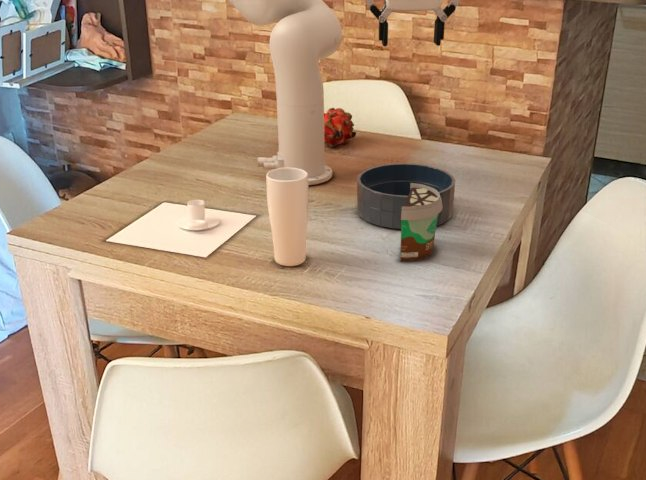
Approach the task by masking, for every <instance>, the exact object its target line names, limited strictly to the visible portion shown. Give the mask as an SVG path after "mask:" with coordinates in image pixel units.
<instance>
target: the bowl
mask: <svg viewBox="0 0 646 480" xmlns="http://www.w3.org/2000/svg"><path fill="white" fill-rule="evenodd" d="M411 183H416V184H422V185H426V186H429V187H432V188H434V189H435V190H437V191H438V192H439V194H440V197H441V199H442V206H443V209H442V211H441V212H440V213H438V217H437V224H436V226H439V225H442V224H444V223H445V222H447V221H449V220H450V218H451V217H452V216H453V213H454V205H455V204H454V203H455V191H456V179H455V177H454V176H453V174H452V173H449V171H446V170H444V169H442V168H439V167H435V166H432V165H427V164H426V165H425V164H420V163H419V164H418V163H407V162H405V163H388V164H380V165H377V166H373V167H372V166H371V167H369V168H367V169H365V170H363V171H362V172H360V173H359V174H358V175H357V178H356V212H357V214H358V216H359V217H360V218H361V219H362V220H364V221H366V222H368V223H370V224H373V225H376V226H379V227H384V228H388V229H394V230H395V229H396V230H401V211H402V207H404V206H405V203H406V200H407V197H408V195H409V193H410V184H411Z"/></svg>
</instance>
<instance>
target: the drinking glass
mask: <svg viewBox="0 0 646 480" xmlns="http://www.w3.org/2000/svg"><path fill="white" fill-rule="evenodd" d="M265 185H266V186H265V190H266V192H265V193H266V194H265V195H266V203H267V210H268V211H267V212H268V217H269V224H270V231H271V240H272V245H273V247H272V248H273V258H274V262H275V263H277V264H278V265H280V266H283V267H296V266H299V265H302V264H303V263H304V262H305V261H306V259H307V234H308V233H307V232H308V219H309V218H308V217H309V202H310V201H309V199H310V192H309V191H310V190H309V189H310V188H309V187H310V185H308V174H307V172H306V171H304V170H302V169H298V168H278V169H274V170H273V169H270V170H269V171H268V172H266V174H265Z"/></svg>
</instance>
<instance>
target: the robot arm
mask: <svg viewBox="0 0 646 480" xmlns="http://www.w3.org/2000/svg"><path fill="white" fill-rule="evenodd" d="M460 1H461V0H450V1H449V3H448V4H447V5H446V6H445V7H444V9H442V4H443V0H383V5H384V6H383V7H382V8H381V9H379V8H378V7H377V6H376V3H375V0H365V3H366V5H367V7H368V9H369V11H370V13H371V14H372V15H373V16H374V17H375V18H376V19H377V21H378V41H379V42H380V41H381V45H382V47H388V45H389V22H388V18H389V17H390V15H391V14H392V13H393V11H394V12H425V11H426V12H431V11H433V13H434V14H435V15H436V18H435V19H434V27H433V29H434V30H433V43H434V44H435V46H437V47H438V46H441V41H443V40H444V39H445V27H446V25H445V24H446V22H447V21H448V18H449V17H451V16H452V14H453V13H454V12H455V11H456V9H457V7H458V5H459V3H460ZM228 2H229V3H230V4H231V5H232V6H233V7H234V8H235V9H236V10H237V11H238V13H240V14H241V15H242V16H243V17H244V19H245V20H247V21H248V22H249V23H251V24H252V25H254V26H258V27H261V26H263V27H264V26H268V25H272V24H275V23H276V24H275V25H274V26H273V28H272V30H271V32H270V37H269V54H270V57H271V63H272V67H273V72H274V73H273V74H274V81H275V98H276V116H277V117H276V119H277V138H278V139H277V142H278V151H277V152H276V155H272V157H265V156H264V157H263V156H261V157H259V156H258V157H257V167H258V168H259V167H260V168H262V167H263V170H274V169H278V168H298V169H302V170H304V171H306V172H307V174H308V186H313V185H320V184H323V183H326V182H328V181H329V180H330V179H331V178H332V177H333V169H332V168H331V167H330V166H329V165H327V164H326V159H325V155H326V154H325V152H326V151H325V148H326V147H325V140H324V113H325V95H324V94H325V91H324V82H323V77H322V74H321V70H320V66H319V62H320V61H322V60H324V59H327V58H329V57H330V56H332V55H334V54H335V53H336V52H337V51H338V50H339V48H340V46H341V44H342V41H343V28H342V25H341V22H340V20H339V19H338V17H337V15H336V13H334V11H333V9H331V8H330V6H328V5H327V4H326V2H325V1H324V0H228Z"/></svg>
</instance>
